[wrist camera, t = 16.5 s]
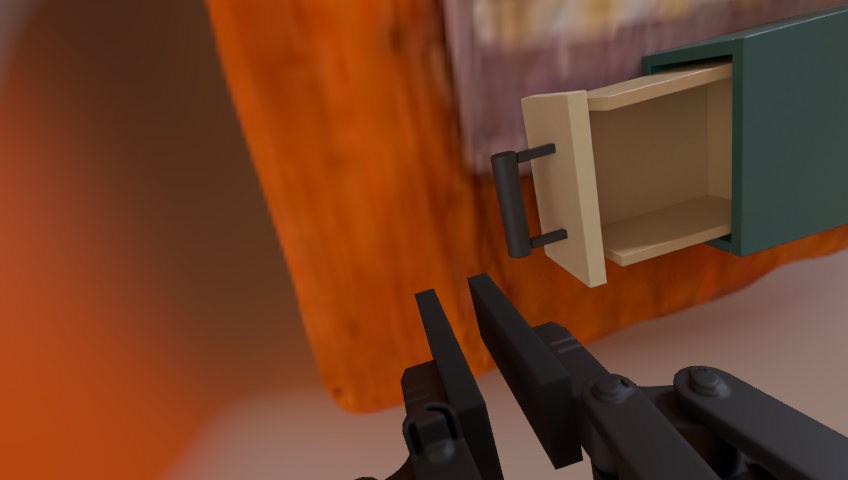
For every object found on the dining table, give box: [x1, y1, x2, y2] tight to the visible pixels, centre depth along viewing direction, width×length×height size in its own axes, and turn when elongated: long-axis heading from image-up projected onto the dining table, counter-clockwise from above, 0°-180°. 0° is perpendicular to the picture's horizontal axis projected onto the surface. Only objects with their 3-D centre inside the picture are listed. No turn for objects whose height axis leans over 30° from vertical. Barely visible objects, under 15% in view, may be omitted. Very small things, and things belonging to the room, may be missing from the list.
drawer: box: [490, 56, 732, 288], centre depth 29 cm, size 19×12×7 cm, turn 104°
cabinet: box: [642, 3, 848, 257], centre depth 30 cm, size 16×14×9 cm
